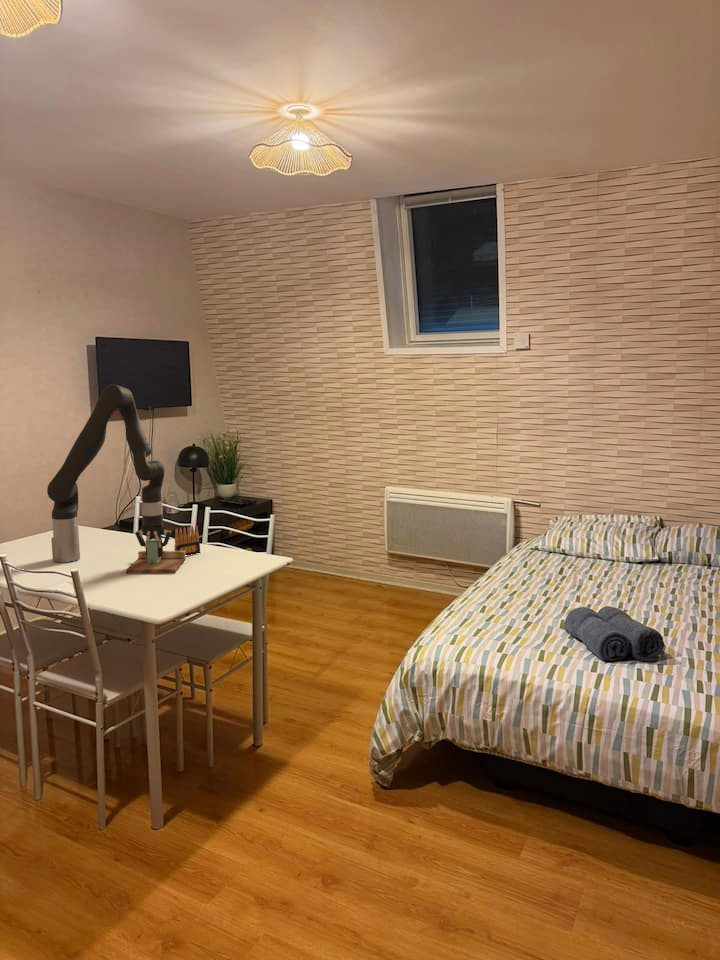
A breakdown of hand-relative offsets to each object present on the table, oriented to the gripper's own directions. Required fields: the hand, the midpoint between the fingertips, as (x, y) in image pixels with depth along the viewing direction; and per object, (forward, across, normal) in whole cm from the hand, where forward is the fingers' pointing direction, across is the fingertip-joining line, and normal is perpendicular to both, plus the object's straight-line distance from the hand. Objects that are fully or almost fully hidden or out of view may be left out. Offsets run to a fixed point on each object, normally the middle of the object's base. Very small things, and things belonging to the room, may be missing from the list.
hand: (154, 556), depth 260 cm
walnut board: (+3, +2, -3) cm, 5 cm away
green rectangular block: (+2, 0, 0) cm, 2 cm away
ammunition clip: (+4, +10, +14) cm, 17 cm away
